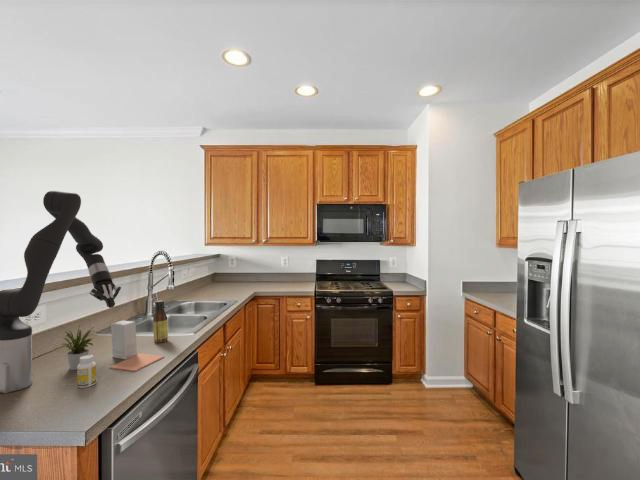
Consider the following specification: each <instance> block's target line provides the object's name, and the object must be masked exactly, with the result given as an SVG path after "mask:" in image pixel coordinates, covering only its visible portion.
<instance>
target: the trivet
mask: <svg viewBox="0 0 640 480" xmlns="http://www.w3.org/2000/svg"><path fill="white" fill-rule="evenodd" d="M164 358H165V356H164V355H159V354H158V355H157V354H149V353H142V352H141V353H137V355H136V356H134V357H131V358H128V359H124V360H122V361H120V362H118V363H115V364H113V365H111V366H109V369H112V370H119V371H127V372H134V373H135V372H137V371H140V370H142V369H143V368H145V367H147V366H149V365H151V364H154V363H155V362H159V360H162V359H164Z"/></svg>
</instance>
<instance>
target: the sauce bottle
mask: <svg viewBox="0 0 640 480" xmlns="http://www.w3.org/2000/svg"><path fill="white" fill-rule="evenodd" d="M154 304H155V312H154V313H153V316H152V317H153V322H152V323H153V325H152V326H153V339H154V343H158V344H160V343H165V342H168V338H169V332H168V316H167V313H166V310H165V301H164V300H163V299H159V300H155V302H154Z"/></svg>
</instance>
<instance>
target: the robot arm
mask: <svg viewBox="0 0 640 480" xmlns="http://www.w3.org/2000/svg"><path fill="white" fill-rule="evenodd" d="M42 202H43V203H42V204H43V207H44V209H45V210H46V211H47V212H48V213H49V214H50V215H51V216H52V217H53V218H54V220H53V221H51V222H50V223H48V224H47V225H46V226H44V227H43V228H41V229H40V230H38V231H37V232H36V233H35V234H33V235H32V237H30V240H29V241H28V244H27V246H26V247H25V250H24V252H23V259H24V263H25V267H26V272H27V274H26V278H25V280H24V283H23V285H22V286H21V288H19V289H17V288H16V289H15V288H14V289H13V288H12V289H11V288H10V289H9V288H8V289H7V288H6V289H2V290H0V393H1V394H7V393H10V392H15V391H19V390H22V389H25V388H27V387H30V386H31V385H32V384H33V328H32V325H30V324H27V323H26V322H23V321H22V320H21V318H26V317H29V316H32V314H33V313H35V312H36V309H37V308H38V305H39V303H40V300H41V297H42V294H43V291H44V288H45V286H46V285H45V283H46V281H47V279H48V276H49V274H50V271H51V269H52V266H53V264H54V262H55V260H56V259H57V255H58V253H59V251H60V249H61V246H62V244H63V241H64V239H65V237H66V236H67V235H66V234H67V233H69V234H70V235H71V237H72V238H73V240H74V241H75V243H77V244H76V246H75V250H76V252H77V253H78V254H79V256H80V257H81V258H82V259H83V260H84V262H85V265H86V267H87V269H88V274H89V278H90V280H91V282H92V286H93V288H92V289H91V290H90V292H89V294H90V295H91V296H93V297H94V298H96V299H97V300H98V301H104V302H105V304H106V306H107V308H109V309H112V308H114V307H115V305H116V302H115V299H116V297H118V294H119V293H120V291H121V289H122V287H121V286H117V285H116V284H115V283H114V282H113V278H112V276H111V274H110V270H109V268H108V266H107V264H106V262H105V259H104V257H103V256H102V254H99V253H100V252H102V250H103V248H104V245H103V244H104V243H103V242H102V240H101V239H99V238H98V237H97V236H95V235H94V234H93V233H92V232H91V230H90V229H89V227H88V226H87V225H86V224H85V223H84V222H83V221H82V220H80V219H79V218H77V216H78V213H79V211H80V208H81V206H82V198H81V195H79V194H78V193H76V192H71V191H60V190H49V191H47V192H46V193H45V194H44V196H43V199H42ZM113 291H114V292H113Z"/></svg>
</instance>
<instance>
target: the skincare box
mask: <svg viewBox="0 0 640 480" xmlns="http://www.w3.org/2000/svg"><path fill="white" fill-rule="evenodd" d="M110 325H111V328H110V329H111V349H112V354H111V355H112V358H116V359H120V360H127V359H129V358H132V357H134V356H136V355H138V349H137V330H136V329H137V328H136V321H134V320H133V321H132V320H123V319H122V320H120V321H116V322H113V323H110Z"/></svg>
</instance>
